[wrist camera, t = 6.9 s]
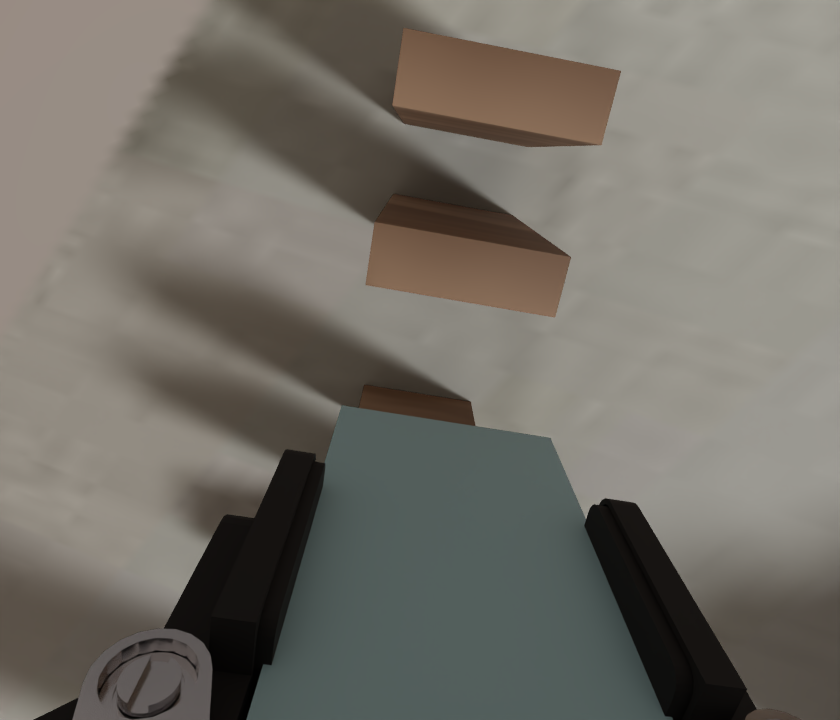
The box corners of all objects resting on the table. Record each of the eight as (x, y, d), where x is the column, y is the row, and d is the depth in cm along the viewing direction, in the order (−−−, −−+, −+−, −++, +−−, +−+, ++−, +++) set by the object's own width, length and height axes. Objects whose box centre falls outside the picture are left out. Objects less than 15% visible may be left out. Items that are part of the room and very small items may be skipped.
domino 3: (463, 432, 27) (486, 579, 18) (359, 415, 27) (326, 556, 18) (470, 401, 27) (497, 537, 17) (364, 384, 27) (333, 513, 17)
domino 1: (527, 146, 23) (601, 145, 14) (404, 123, 23) (392, 105, 13) (537, 103, 22) (620, 70, 13) (410, 79, 22) (403, 27, 13)
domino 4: (534, 494, 14) (748, 1160, 5) (334, 464, 14) (156, 1113, 5) (550, 438, 14) (825, 1069, 4) (342, 405, 13) (158, 1008, 4)
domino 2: (503, 253, 24) (555, 317, 15) (387, 232, 24) (365, 285, 15) (512, 215, 24) (570, 257, 15) (393, 193, 24) (374, 221, 14)
